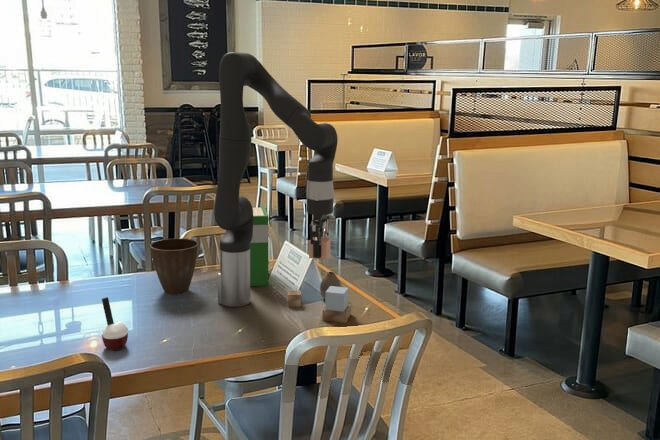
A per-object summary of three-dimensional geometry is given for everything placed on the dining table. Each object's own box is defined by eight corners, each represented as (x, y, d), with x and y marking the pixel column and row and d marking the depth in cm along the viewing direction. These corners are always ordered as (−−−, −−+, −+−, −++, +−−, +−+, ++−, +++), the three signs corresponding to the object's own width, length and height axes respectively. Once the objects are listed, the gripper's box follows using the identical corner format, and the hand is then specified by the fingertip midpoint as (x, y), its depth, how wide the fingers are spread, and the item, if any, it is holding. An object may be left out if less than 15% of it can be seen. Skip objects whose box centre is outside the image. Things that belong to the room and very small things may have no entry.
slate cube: (325, 309, 181) (325, 291, 180) (330, 303, 186) (330, 285, 185) (343, 311, 180) (344, 293, 179) (347, 305, 185) (348, 287, 184)
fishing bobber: (129, 353, 158) (129, 309, 155) (103, 356, 156) (102, 311, 153) (126, 337, 167) (125, 295, 164) (101, 339, 164) (100, 297, 161)
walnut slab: (322, 321, 182) (322, 310, 181) (327, 312, 188) (327, 302, 188) (346, 324, 180) (346, 312, 180) (350, 315, 187) (350, 304, 186)
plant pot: (142, 294, 199) (140, 246, 195) (170, 281, 212) (169, 236, 209) (181, 302, 193) (179, 252, 190) (208, 288, 207) (207, 241, 203)
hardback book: (243, 270, 227) (242, 205, 221) (263, 269, 228) (263, 205, 223) (246, 286, 210) (245, 216, 204) (268, 285, 211) (268, 216, 206)
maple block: (287, 307, 192) (287, 294, 191) (286, 302, 195) (286, 290, 195) (300, 306, 192) (300, 294, 191) (299, 302, 196) (299, 290, 195)
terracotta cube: (309, 258, 175) (309, 241, 174) (313, 253, 180) (313, 236, 179) (326, 259, 174) (326, 242, 173) (330, 254, 179) (330, 237, 178)
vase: (339, 303, 195) (339, 276, 194) (317, 301, 197) (318, 275, 195) (343, 296, 202) (343, 270, 200) (322, 294, 203) (322, 268, 201)
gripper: (313, 191, 181) (313, 247, 185) (300, 200, 167) (300, 261, 171) (338, 192, 179) (338, 249, 183) (327, 201, 166) (326, 263, 170)
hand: (319, 254), depth 177 cm, fingers closed on terracotta cube, 5 cm apart
